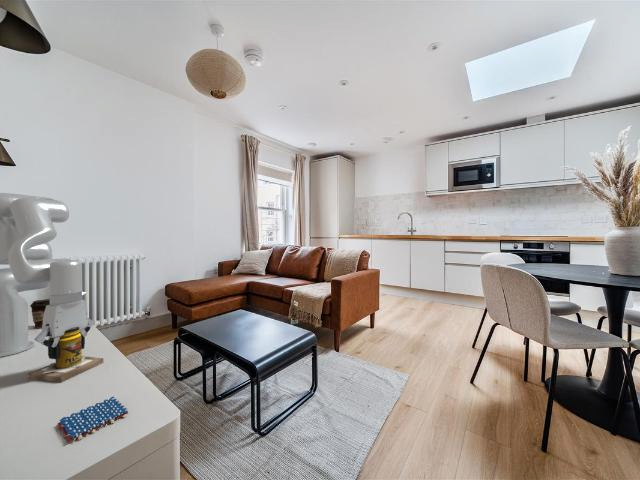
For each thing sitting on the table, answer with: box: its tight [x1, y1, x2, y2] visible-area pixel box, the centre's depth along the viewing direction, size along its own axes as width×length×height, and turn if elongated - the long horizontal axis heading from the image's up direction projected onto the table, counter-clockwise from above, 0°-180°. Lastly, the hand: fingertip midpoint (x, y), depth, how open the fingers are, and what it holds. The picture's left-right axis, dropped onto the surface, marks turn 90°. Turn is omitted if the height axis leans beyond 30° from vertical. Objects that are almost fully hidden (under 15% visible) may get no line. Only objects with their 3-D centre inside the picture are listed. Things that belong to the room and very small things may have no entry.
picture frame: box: [27, 355, 104, 383], centre depth 82 cm, size 13×12×2 cm
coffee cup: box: [29, 298, 50, 329], centre depth 123 cm, size 9×8×13 cm
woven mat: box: [57, 396, 129, 445], centre depth 59 cm, size 10×11×2 cm
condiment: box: [43, 327, 85, 374], centre depth 82 cm, size 7×8×12 cm
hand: (67, 352), depth 82 cm, fingers open, 6 cm apart
